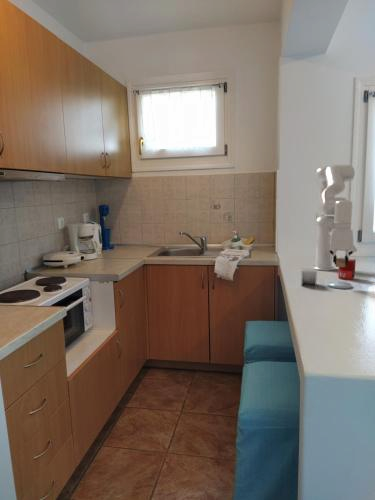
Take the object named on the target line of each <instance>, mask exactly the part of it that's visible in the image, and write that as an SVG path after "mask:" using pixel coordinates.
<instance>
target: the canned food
mask: <svg viewBox="0 0 375 500" xmlns="http://www.w3.org/2000/svg"><path fill="white" fill-rule="evenodd" d="M339 258H343V259H345V256H340V257H339ZM356 261H357V260H356V258H354V257H351V256H349V257H348V263H347V264H346V265H345V267H338V271H337V272H338V273H337V275H338V276H337V277H338V279H339V280H344V281H352V280H355V274H356Z"/></svg>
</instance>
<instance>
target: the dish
mask: <svg viewBox="0 0 375 500" xmlns="http://www.w3.org/2000/svg"><path fill="white" fill-rule="evenodd" d="M326 285H327V287H328V288H331V289H336V290H348V289H352V283H350V282H347V281H339V280H331V281H327V282H326Z"/></svg>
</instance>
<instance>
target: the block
mask: <svg viewBox="0 0 375 500" xmlns="http://www.w3.org/2000/svg"><path fill="white" fill-rule="evenodd" d="M339 267H345V259H343V258H340V257H339V258H338V257H337V258H336V264H335V268H339Z"/></svg>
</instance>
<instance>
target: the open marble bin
mask: <svg viewBox="0 0 375 500" xmlns="http://www.w3.org/2000/svg"><path fill="white" fill-rule="evenodd" d="M317 272H318V270H317V269H313V268H306V267H302V268H301V277H300V278H301V279H300V287H302V286H303V284H310V285H311V284H312V285H314V288H317V280H318V279H317V278H318V277H317V276H318V273H317Z"/></svg>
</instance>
